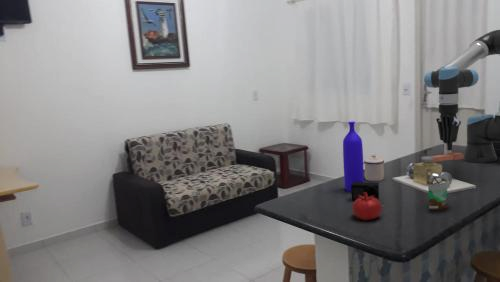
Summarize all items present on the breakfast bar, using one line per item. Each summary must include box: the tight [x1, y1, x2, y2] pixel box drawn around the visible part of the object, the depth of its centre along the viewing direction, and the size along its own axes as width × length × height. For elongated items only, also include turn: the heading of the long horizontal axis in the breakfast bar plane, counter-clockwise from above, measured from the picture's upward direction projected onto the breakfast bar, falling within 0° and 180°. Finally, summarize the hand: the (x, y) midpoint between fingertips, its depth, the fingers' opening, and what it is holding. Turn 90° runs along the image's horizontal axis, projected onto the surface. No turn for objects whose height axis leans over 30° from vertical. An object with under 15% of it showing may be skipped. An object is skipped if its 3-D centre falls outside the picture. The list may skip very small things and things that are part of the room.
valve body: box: [405, 161, 453, 186], centre depth 170 cm, size 8×20×9 cm, turn 16°
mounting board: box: [392, 174, 477, 194], centre depth 171 cm, size 20×27×1 cm
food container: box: [428, 176, 450, 211], centre depth 143 cm, size 12×6×10 cm, turn 148°
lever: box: [420, 152, 464, 163], centre depth 170 cm, size 18×5×2 cm, turn 98°
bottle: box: [342, 120, 365, 193], centre depth 170 cm, size 8×8×30 cm
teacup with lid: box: [363, 154, 385, 182], centre depth 186 cm, size 12×9×12 cm
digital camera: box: [350, 181, 380, 202], centre depth 157 cm, size 10×5×7 cm, turn 68°
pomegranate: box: [351, 192, 383, 221], centre depth 140 cm, size 10×10×9 cm
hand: (447, 157), depth 173 cm, fingers closed
